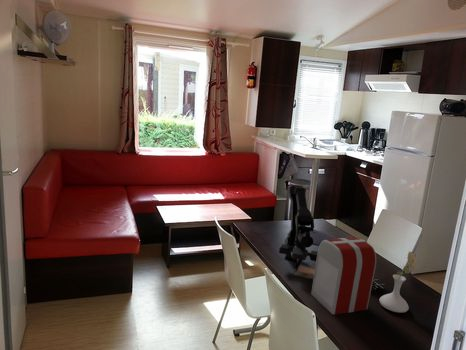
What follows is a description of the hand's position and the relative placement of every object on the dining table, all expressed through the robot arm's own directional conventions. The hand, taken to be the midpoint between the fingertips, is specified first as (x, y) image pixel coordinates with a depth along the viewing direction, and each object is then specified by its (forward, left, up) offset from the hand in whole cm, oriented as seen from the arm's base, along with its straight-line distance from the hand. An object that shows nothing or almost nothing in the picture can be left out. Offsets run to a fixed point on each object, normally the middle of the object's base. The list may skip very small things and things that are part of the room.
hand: (296, 268), depth 179 cm
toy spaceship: (+5, +51, -2) cm, 51 cm away
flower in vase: (+43, -13, -1) cm, 45 cm away
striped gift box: (+21, -19, -1) cm, 28 cm away
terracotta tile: (+7, 0, -2) cm, 7 cm away
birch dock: (+11, 0, -1) cm, 11 cm away
